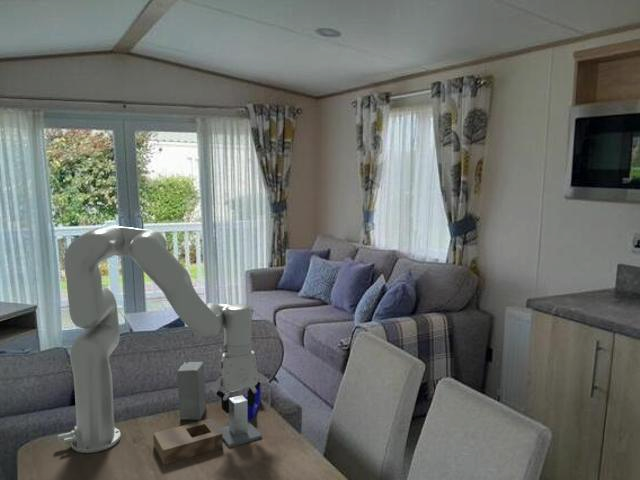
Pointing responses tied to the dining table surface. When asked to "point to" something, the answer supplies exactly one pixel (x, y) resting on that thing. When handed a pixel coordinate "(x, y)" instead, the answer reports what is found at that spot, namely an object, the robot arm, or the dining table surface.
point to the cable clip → (252, 410)
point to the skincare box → (191, 390)
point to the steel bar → (238, 416)
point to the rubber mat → (241, 439)
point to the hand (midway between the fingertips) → (238, 407)
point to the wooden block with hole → (187, 441)
